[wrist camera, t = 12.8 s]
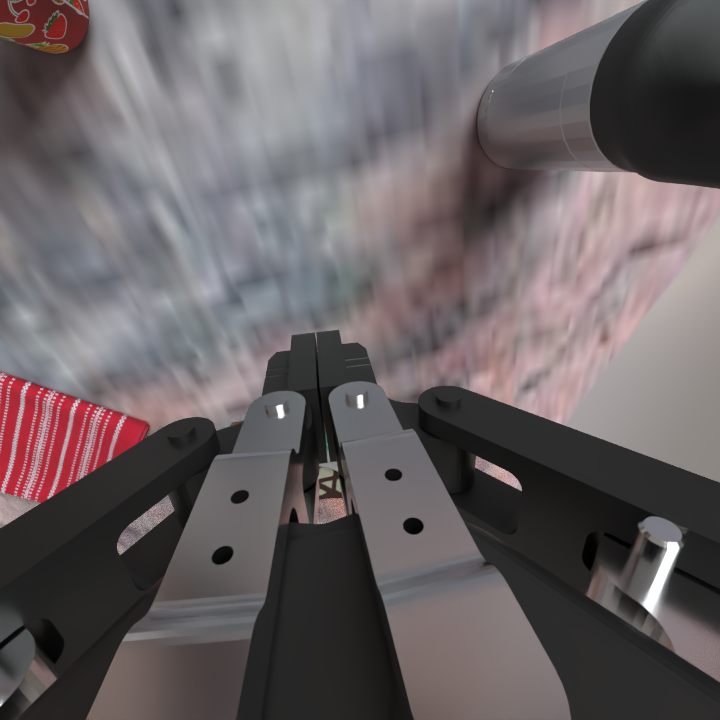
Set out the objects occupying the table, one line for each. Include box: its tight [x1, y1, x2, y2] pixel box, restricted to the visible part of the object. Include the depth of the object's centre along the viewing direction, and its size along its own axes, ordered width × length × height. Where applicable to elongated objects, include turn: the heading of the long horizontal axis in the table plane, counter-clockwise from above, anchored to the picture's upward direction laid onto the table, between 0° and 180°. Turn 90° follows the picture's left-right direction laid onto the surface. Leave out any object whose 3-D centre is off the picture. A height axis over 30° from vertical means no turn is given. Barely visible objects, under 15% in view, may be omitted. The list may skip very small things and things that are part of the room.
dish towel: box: [0, 372, 150, 503], centre depth 47 cm, size 17×24×3 cm
